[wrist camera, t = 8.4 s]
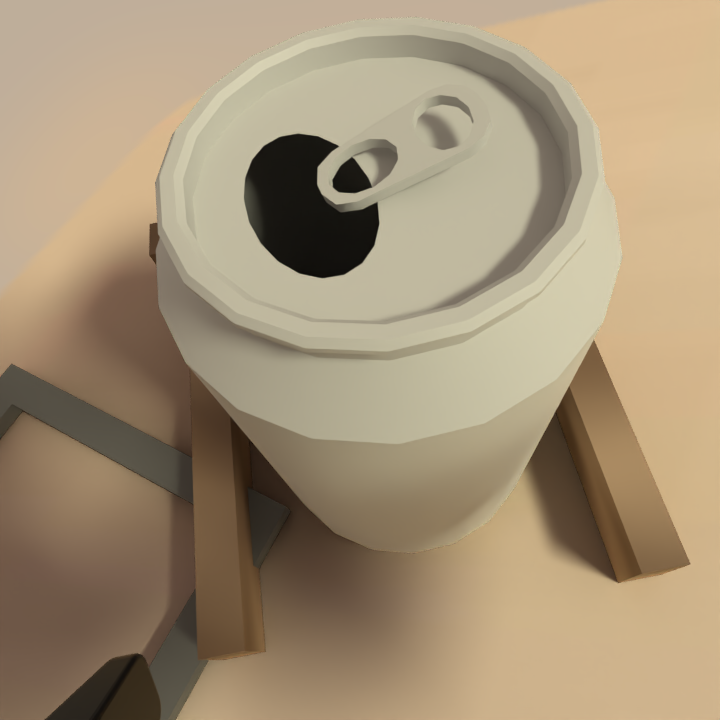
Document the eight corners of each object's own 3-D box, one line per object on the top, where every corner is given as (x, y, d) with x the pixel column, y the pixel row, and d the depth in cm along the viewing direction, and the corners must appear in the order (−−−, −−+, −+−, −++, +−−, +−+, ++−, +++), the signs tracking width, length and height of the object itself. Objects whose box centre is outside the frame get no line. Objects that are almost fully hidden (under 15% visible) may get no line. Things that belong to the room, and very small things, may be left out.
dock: (660, 574, 16) (751, 542, 11) (223, 659, 16) (143, 661, 11) (529, 246, 21) (554, 139, 17) (207, 313, 21) (149, 224, 17)
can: (261, 383, 20) (68, 71, 9) (457, 307, 20) (490, -70, 10) (333, 599, 16) (158, 502, 6) (568, 499, 17) (808, 240, 6)
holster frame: (290, 511, 18) (286, 506, 17) (35, 974, 13) (18, 988, 13) (22, 370, 21) (11, 363, 21) (-250, 698, 17) (-272, 700, 16)
